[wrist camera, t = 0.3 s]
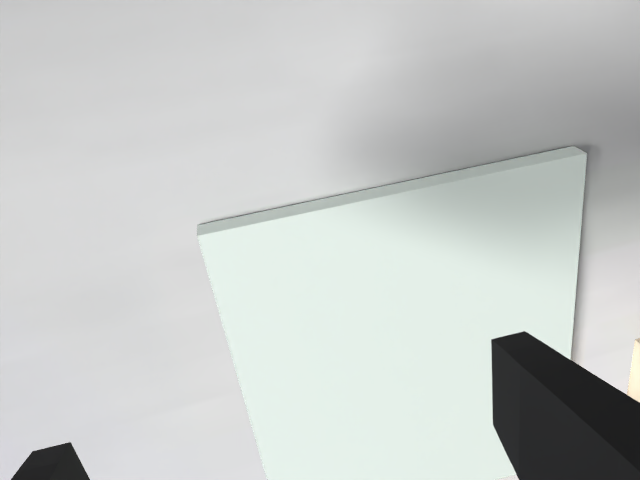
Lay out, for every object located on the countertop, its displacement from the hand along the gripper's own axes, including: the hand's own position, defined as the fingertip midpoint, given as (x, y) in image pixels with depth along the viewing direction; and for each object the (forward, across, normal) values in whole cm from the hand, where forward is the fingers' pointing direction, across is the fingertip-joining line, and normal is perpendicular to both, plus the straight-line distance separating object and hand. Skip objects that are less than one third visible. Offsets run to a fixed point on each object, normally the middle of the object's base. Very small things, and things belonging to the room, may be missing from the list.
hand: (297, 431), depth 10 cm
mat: (+10, -4, +8) cm, 13 cm away
